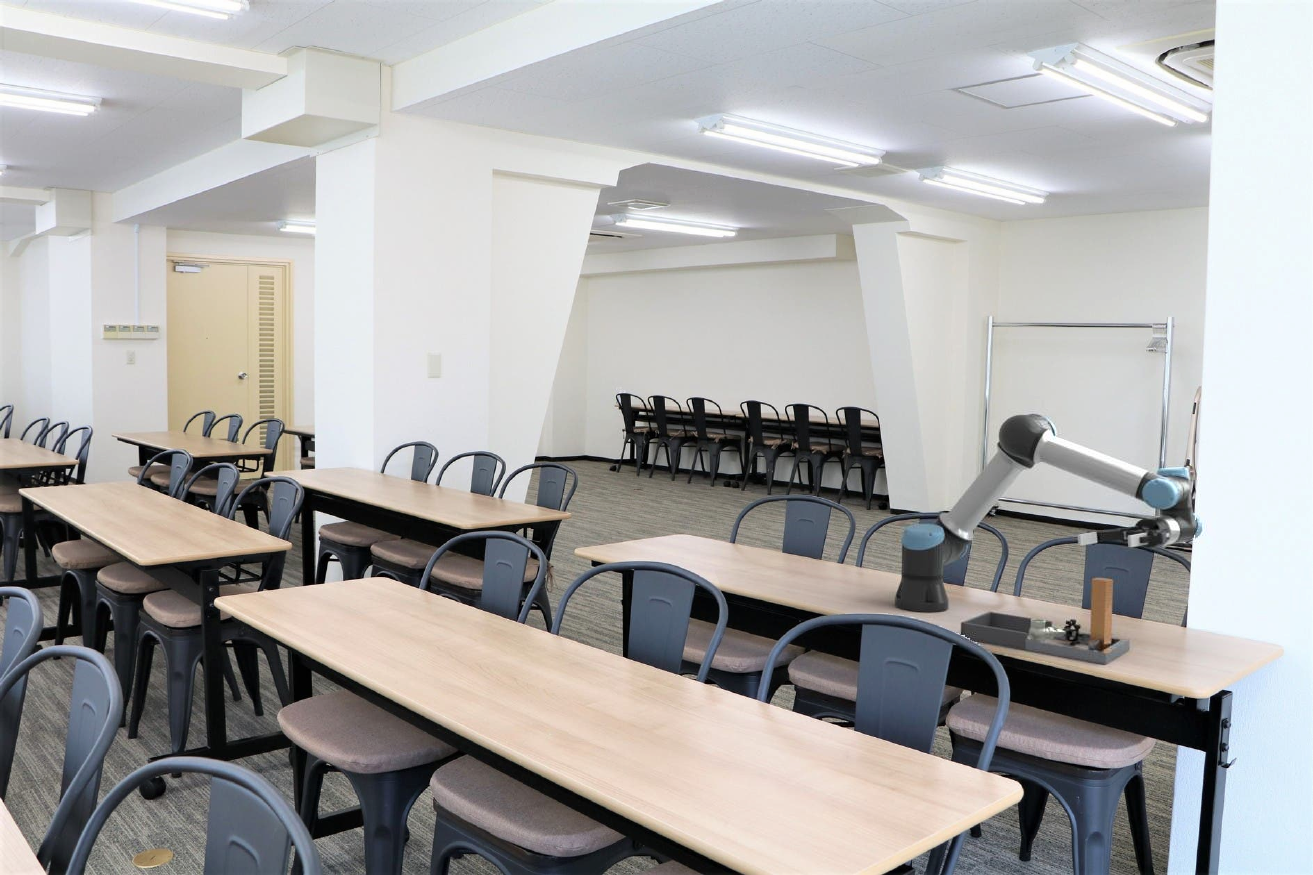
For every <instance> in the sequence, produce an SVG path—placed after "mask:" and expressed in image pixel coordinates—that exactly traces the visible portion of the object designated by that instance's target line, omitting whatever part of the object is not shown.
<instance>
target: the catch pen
mask: <svg viewBox="0 0 1313 875" xmlns="http://www.w3.org/2000/svg"><path fill="white" fill-rule="evenodd" d="M1031 619H1034V618H1032V617H1026V616H1019V615H1014V614H1007V613H1002V612H1001V613H1000V612H994V611H988V612H985V613H982V614H980V615H978V616H974V617H971V618H970V619H966V620H964V621H962V622H960V636H961V635H965V637H967V638H970V639H971V640H970V641H973V640H974V641H973V642H979V643H984V644H991V645H996V646H1002V647H1006V648H1013V649H1019V650H1023V651H1026V650H1025V646H1026V640H1027V639H1028V635H1029V629H1030V627H1031ZM1044 620H1045V619H1044ZM1046 627H1053V621H1051V620H1045V628H1046Z"/></svg>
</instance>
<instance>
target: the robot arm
mask: <svg viewBox="0 0 1313 875" xmlns="http://www.w3.org/2000/svg"><path fill="white" fill-rule="evenodd" d="M996 449H997V452H996V453H995V455H994V456H993V457H992V458H991V459H990V460H989V462H988V463H987V464H986V466H985V467H984V468H983V470H982V471H981V472H980V473H979V474H978V475H977V477H976V478H975V479H974V480H973V482H972V483H971V484H970V486H969V487H968V488H967V489H966V490H965V492H964V493H963V494H962V495H961V497H960V498H959V499H958V500H957V502H955V504H954V506H952V508H951V509H950V510H949V512H944V513H940V514H939V516H938V517H937V518H936V519H935V521H934V522H933V523H918V524H911V525H908V526H906V527H904V528H903V530H902V535H901V578H900V582H899V585H898V588H897V590H896V593H895V596H894V606H895V607H897V608H899V609H902V610H907V611H911V612H922V613H923V612H925V613H928V612H929V613H932V612H935V613H936V612H944V611H946V610H947V611H948V609H949V608H950V607H949V601H950V600H949V597H948V595H947V590H946V587H945V584H944V580H943V578H944V566H946V565H951V564H954V563H956V562H959V561H960V560H961V558H963V557H964V555H966V553H967V551H968V548H969V545H970V543H971V542H972V541H973V539H974V532H973V531H974V530H975V529H976V527H977V526H978V525H979V524H980V523H981V521H982V520H983V519H984V518H985V517H986V515H987V514H988V513H989V512H990V511H991V510H992V508H993V506H994V505H996V503H998V501H999V500H1000V498H1002V496H1003V495H1004V494H1005V492H1006V491H1007V490H1008V489H1009V488H1010V486H1011V485H1012V484H1013V483H1014V482H1015V480H1016V479H1017V478H1018V477H1019V475H1020V474H1021V473H1022V472H1023V471H1024V470H1031V469H1032V468H1033V467H1034V466H1035V465H1036V464H1039V463H1044V464H1047V465H1050V466H1052V467H1055V468H1057V469H1059V470H1062V471H1065V472H1067V473H1071V474H1072V475H1075V476H1077V477H1081V478H1083V479H1086V480H1089V481H1090V482H1093V483H1096V484H1098V485H1101V486H1103V487H1106V488H1109V489H1111V490H1114V491H1116V492H1118V493H1119V492H1120V493H1121V494H1124V495H1127V496H1130V497H1132V498H1134V499H1136V500H1138V501H1141V502H1144V503H1145V504H1146V505H1147V506H1149V507H1150V508H1152V509H1155V510H1159V511H1160V515H1156V516H1152V517H1147V518H1145V517H1144V518H1141V519H1139V520H1138V521H1137V522H1136V523H1135V524H1134V526H1130V527H1118V528H1113V529H1104V530H1103V529H1102V530H1091V531H1090V530H1088V531H1086V532H1085V533H1081V534H1077V545H1078V546H1086V545H1092V546H1096V544H1097V543H1101V542H1114V541H1120V542H1121V543H1127V544H1128V548H1134V547H1136V548H1137V547H1144V548H1146V549H1153V548H1158V547H1161V548H1163V549H1164V548H1167V545H1173V544H1174V545H1175V544H1180V543H1187V542H1190V541H1192V540H1194V539H1193V538H1194V535H1195V539H1197V538H1199V537H1200V535H1201V533H1202V532H1203V529H1202V524H1203V521H1202V522H1201V523H1200V520H1201V518H1200V517H1199V515H1197V516H1196V520H1195V514H1196V513H1194V509H1193V501H1192V490H1191V489H1192V487H1191V478H1190V471H1189V469H1188V468H1187V467H1183V466H1181V467H1177V466H1176V467H1164V468H1163V467H1161V468H1159V469H1158V470H1157V471H1156V473H1154V472H1151V471H1149V470H1145V469H1143V468H1141V467H1138V466H1136V465H1132V464H1129V463H1127V462H1125V461H1122V460H1119V459H1117V458H1114V457H1111V456H1109V455H1106V454H1103V453H1100V452H1097V451H1095V450H1093V449H1089V448H1087V447H1084V446H1082V445H1080V444H1076V443H1074V442H1071V441H1068V440H1066V439H1063V438H1060V437H1058V431H1057V428H1056V426H1055V424H1054V423H1053V422H1052V421H1051V420H1050V419H1049V418H1047V417H1045V415H1040V414H1037V413H1029V414H1016V415H1012V416H1011V417H1009V418H1007V419H1006V420H1004V422H1003V423H1002V424H1001V425H1000V428H999V431H998V443H997V444H996ZM1125 538H1126V539H1125Z"/></svg>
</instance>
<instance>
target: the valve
mask: <svg viewBox="0 0 1313 875" xmlns="http://www.w3.org/2000/svg"><path fill="white" fill-rule="evenodd" d="M1076 623H1077V620H1076V619H1075V618H1071V619H1070V620H1066V621H1065V624H1066V625H1064V626H1063V628H1060V629H1056V630H1054V629H1053V628H1052V627H1053V626H1052V627H1046V628H1045V619H1041V618H1033V619H1031V627H1030V629H1029V634H1028V638H1029V639H1032V640H1038V641H1043V642H1046V640H1053V638H1054V637H1055V636H1056V637H1061V636H1063V635H1064V636H1065V640H1066V641H1065V640H1064V641H1065V642H1069V646H1073V647H1076V646H1077V645H1079V646H1080V645H1081V643H1080V640H1079V638H1081V637H1082V633H1080V632H1081V631H1080V629H1081V627H1082V626H1081V624H1078V623H1077V624H1076ZM1072 627H1073V628H1072ZM1062 629H1064V630H1063V631H1062ZM1075 635H1076V637H1075V639H1073V638H1072V636H1075Z"/></svg>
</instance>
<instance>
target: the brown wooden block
mask: <svg viewBox="0 0 1313 875" xmlns="http://www.w3.org/2000/svg"><path fill="white" fill-rule="evenodd" d="M1113 592H1114V579H1111V578H1105V577H1095V578H1092V579H1091V595H1090V596H1091V599H1090V600H1091V602H1090V628H1089V629H1090V631H1089V633H1090V642H1089V644H1088V649H1090V650H1096V651H1103V650H1105V649H1106V648H1108V647H1110V646H1112V637H1113V633H1112V632H1113V630H1112V629H1113V628H1112V626H1113V621H1112V620H1113V595H1114V594H1113Z"/></svg>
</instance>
